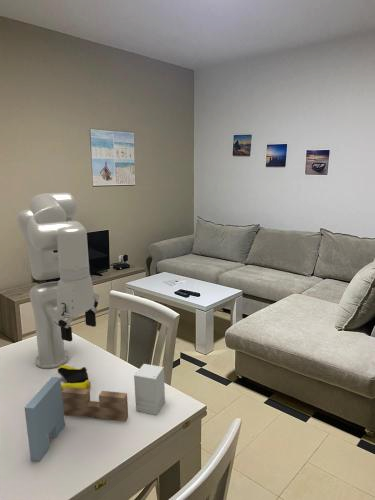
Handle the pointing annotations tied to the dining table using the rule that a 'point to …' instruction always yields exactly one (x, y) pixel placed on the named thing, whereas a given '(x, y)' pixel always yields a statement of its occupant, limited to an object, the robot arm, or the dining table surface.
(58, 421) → the slate slotted plate
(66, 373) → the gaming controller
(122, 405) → the walnut slotted plate
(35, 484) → the dining table surface
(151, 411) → the supplement box
